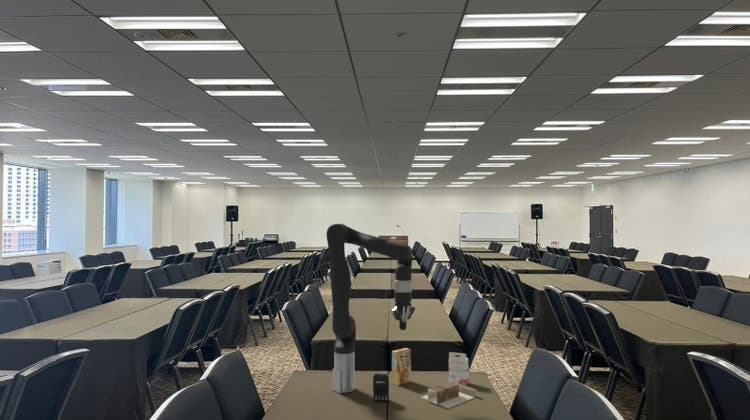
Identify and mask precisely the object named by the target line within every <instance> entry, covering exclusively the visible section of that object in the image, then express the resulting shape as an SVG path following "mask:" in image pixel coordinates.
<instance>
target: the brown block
mask: <svg viewBox="0 0 750 420" xmlns="http://www.w3.org/2000/svg"><path fill="white" fill-rule="evenodd" d="M427 395H428V400H427V401H428V402H430V403H431V404H435V405H438V404H439V403H442V402H445V401H447V400H450V399H453V398H456V397H458V396H459V385H458V384H455V383H453V382H449V381H447V382H445V383H441V384H440V385H439V384H438V385H435V386H433V387H429V388H427Z"/></svg>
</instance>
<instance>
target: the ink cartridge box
mask: <svg viewBox="0 0 750 420" xmlns="http://www.w3.org/2000/svg"><path fill="white" fill-rule="evenodd" d="M449 381H453V382H456V383H458V384H461V385H464V386H467V387H468V385H469V383H470V382H469V381H470V380H469V358H468V357H467V354H466V353H462V352H461V353H460V352H451V351H449V352H448V382H449Z"/></svg>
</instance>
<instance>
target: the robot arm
mask: <svg viewBox="0 0 750 420" xmlns="http://www.w3.org/2000/svg"><path fill="white" fill-rule="evenodd" d="M326 241H327V246H328V247H327V249H328V255H329V272H330V273H329V275H330V276H329V277H330V290H331V300H332V301H331V302H332V332H333V333H334V335H335V342H334V348H333V351H334V353H333V354H334V355H333V358H334V360H333V361H334V362H333V363H334V364H333V365H334V366H333V367H334V368H332V372H331V373H332V374H331V375H332V377H331V378H332V391H334V392H336V393H339V394H345V393H346V394H347V393H351V392H354V391H355V387H356V386H355V385H356V383H355V366H356V365H355V364H356V363H355V347H356V342H357V341H356V340H357V339H356V338H357V337H356V335H357V334H356V333H357V324H356V320H355V318H354V317H352V316H351V315H350V307H349V306H350V299H351V292H352V291H351V290H352V277H351V270H350V266H349V264H348V261H347V258H346V251H345V250H346V249H345V244H350V245H354V246H358V247H360V248H363V249H365V250H367V251H369V252H372V253H375V254H379V255H382V256H387V258H391V259H393V260H395V261H397V263H396V264H397V266H396V268H395V273H394V277H395V282H394V303H395V304H394V308H392V309H391V310H390V313H391V314H392V316H393V317H394V319H395V321H398V322H399V330H401V331H406V329H407V321H408V320H410V319H411V318H412V316H413V313H414V312H415V311H416V307H414V306H413V305H412V303H411V302H412V300H413V298H412V297H413V296H412V291H413V286H412V285H413V284H412V264H413V258H414V257H413V256H414V255H413V249H412V247H411V246H410V245H409V244H399V243H395V242H392V241H391V240H389V239H386V238H382V237H378V236H375V235H371V234H367V233H364V232H361V231H358V230H355V229H353V228H351V227H349V226H348V225H345V224H343V223H334V224H330V225H329V226H328V228H327V230H326Z"/></svg>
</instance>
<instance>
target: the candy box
mask: <svg viewBox="0 0 750 420" xmlns="http://www.w3.org/2000/svg"><path fill="white" fill-rule="evenodd" d="M411 381H412V349H410V348H408V347H404V348H400V349H396V350H391V383H392V385H395V386H401V385H404V384H406V383H409V382H411Z"/></svg>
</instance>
